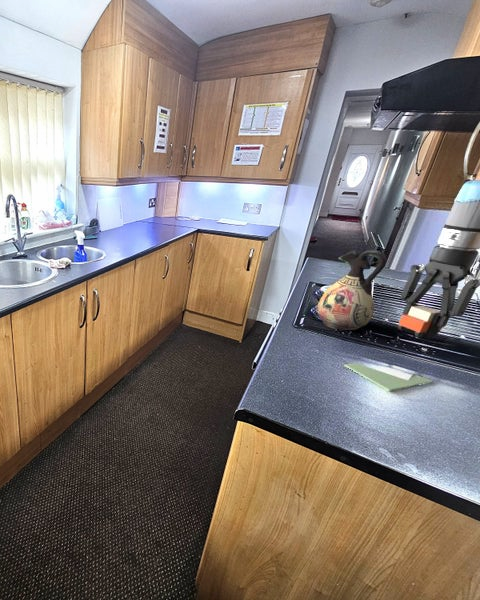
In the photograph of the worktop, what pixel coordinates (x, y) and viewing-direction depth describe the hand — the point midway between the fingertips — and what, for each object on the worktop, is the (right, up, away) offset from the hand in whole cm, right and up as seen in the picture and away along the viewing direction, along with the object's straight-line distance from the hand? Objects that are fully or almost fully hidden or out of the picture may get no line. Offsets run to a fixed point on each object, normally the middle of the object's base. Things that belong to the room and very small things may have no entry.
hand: (417, 331), depth 89 cm
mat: (-5, -13, +4) cm, 14 cm away
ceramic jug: (+2, -2, +29) cm, 30 cm away
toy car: (0, 0, 0) cm, 0 cm away
